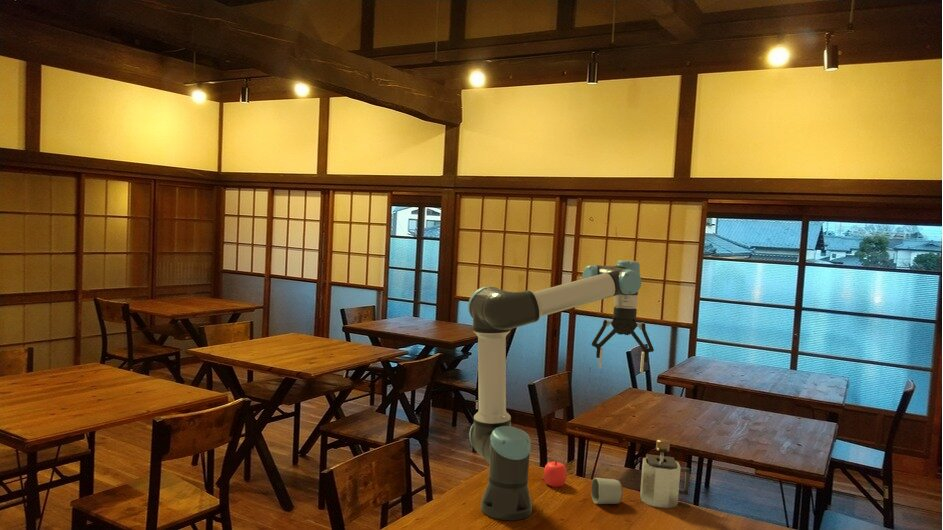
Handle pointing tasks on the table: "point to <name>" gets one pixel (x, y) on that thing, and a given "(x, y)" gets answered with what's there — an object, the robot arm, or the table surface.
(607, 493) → the ceramic mug
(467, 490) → the table surface
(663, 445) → the plunger
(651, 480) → the carafe
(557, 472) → the apple
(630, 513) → the table surface
